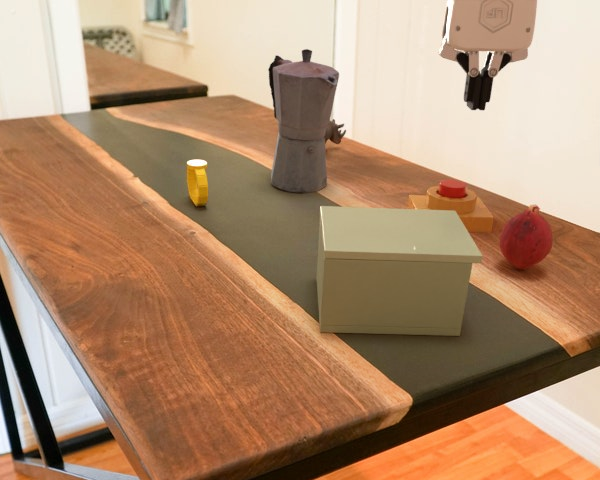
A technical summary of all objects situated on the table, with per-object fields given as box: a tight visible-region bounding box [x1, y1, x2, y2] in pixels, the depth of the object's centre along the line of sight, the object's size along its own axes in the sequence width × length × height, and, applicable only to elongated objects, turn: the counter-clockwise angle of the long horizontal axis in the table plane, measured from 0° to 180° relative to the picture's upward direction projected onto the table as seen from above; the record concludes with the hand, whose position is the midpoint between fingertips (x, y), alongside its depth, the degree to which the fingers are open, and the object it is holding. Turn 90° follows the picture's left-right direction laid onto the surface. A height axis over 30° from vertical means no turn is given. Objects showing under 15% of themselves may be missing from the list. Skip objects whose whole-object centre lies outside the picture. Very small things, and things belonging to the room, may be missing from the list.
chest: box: [316, 217, 473, 337], centre depth 67 cm, size 14×12×8 cm
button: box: [438, 179, 468, 199], centre depth 89 cm, size 4×4×2 cm
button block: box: [407, 185, 495, 233], centre depth 90 cm, size 10×8×4 cm
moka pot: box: [267, 48, 340, 194], centre depth 98 cm, size 10×15×20 cm, turn 42°
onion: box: [499, 204, 554, 271], centre depth 76 cm, size 6×6×8 cm
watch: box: [186, 159, 209, 207], centre depth 92 cm, size 6×3×6 cm, turn 24°
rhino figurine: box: [324, 118, 347, 145], centre depth 117 cm, size 4×14×6 cm, turn 129°
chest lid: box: [319, 205, 483, 264], centre depth 65 cm, size 14×12×1 cm
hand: (475, 107), depth 84 cm, fingers closed
